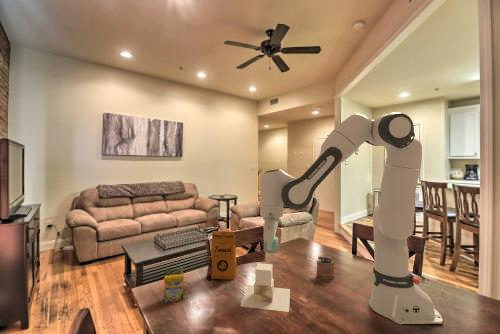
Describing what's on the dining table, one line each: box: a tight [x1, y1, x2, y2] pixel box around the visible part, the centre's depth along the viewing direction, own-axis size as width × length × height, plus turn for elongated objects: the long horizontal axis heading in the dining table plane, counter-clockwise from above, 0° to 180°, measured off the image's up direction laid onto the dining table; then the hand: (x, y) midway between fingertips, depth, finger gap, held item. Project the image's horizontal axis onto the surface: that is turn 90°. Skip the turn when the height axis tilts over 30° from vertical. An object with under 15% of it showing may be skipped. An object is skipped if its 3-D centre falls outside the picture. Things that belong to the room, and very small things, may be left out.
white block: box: [255, 262, 274, 286], centre depth 96 cm, size 6×6×6 cm
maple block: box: [253, 278, 275, 303], centre depth 96 cm, size 7×7×6 cm
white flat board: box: [239, 284, 291, 313], centre depth 96 cm, size 18×16×1 cm
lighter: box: [316, 255, 335, 280], centre depth 114 cm, size 8×3×10 cm, turn 84°
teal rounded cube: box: [263, 235, 279, 254], centre depth 94 cm, size 6×6×5 cm
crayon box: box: [163, 268, 185, 303], centre depth 96 cm, size 7×3×12 cm, turn 105°
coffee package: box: [210, 230, 238, 281], centre depth 114 cm, size 10×12×22 cm
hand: (270, 246), depth 94 cm, fingers closed on teal rounded cube, 5 cm apart
